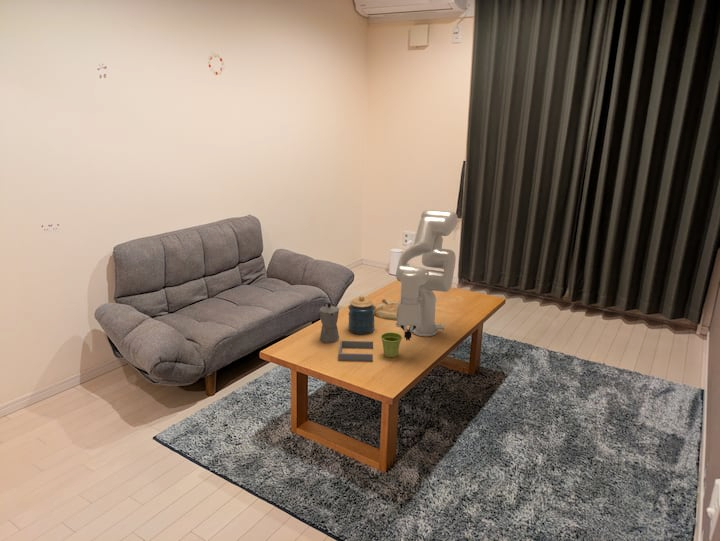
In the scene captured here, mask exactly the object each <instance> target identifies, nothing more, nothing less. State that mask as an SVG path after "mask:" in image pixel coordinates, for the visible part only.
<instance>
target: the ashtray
mask: <svg viewBox="0 0 720 541" xmlns="http://www.w3.org/2000/svg"><path fill="white" fill-rule="evenodd" d="M398 303H399V301H389V300H388V299H386V298H384V299H382V300H381V302H380V303H378V304H377V305H376V306H375V309H374V313H375V315H374V317H375V316H376V317H377V318H379V319H383V320H388V321H391V320H392V321H397V309H398Z"/></svg>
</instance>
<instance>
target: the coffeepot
mask: <svg viewBox="0 0 720 541" xmlns="http://www.w3.org/2000/svg"><path fill="white" fill-rule="evenodd" d="M318 310H319V317H320V322H321V324H322V325H321V330H320V336H319V340H320V341H321V342H323V343H327V344H329V343H330V344H332V343H336V342H338V341H339V339H340V335H339V334H340V333H339V329H338V326H337V323H338V319H339V313H340V312H339V311H340V308H339V307H337V306H335V305H334V306H333V305H332V303H330V302H329V303H327V302H325V303H324V304H323V306H321V307H320V309H318Z"/></svg>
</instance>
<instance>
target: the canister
mask: <svg viewBox="0 0 720 541" xmlns="http://www.w3.org/2000/svg"><path fill="white" fill-rule="evenodd" d="M347 307H348V310H349V311H348V313H347V314H348V326H347V327H348V330H349V332H351V333H352V334H357V335H369V334H371V333H372V332H374V330H375V325H376V324H375V313H374V309H375V307H376V306H375V305H374V302H373V301H372V300H371V299H370V298H367V297H365V296H364V295H360V296H359V297H356V298H353V299H352V300H350V302H349V305H348V306H347Z"/></svg>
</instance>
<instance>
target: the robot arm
mask: <svg viewBox="0 0 720 541" xmlns="http://www.w3.org/2000/svg"><path fill="white" fill-rule="evenodd" d="M420 216H421V217H420V220H419V224H418V225H417V226H418V227H417V231H416V234H415V239H414V242H413V244H412V245H411V246H410V247H409V248H407V249H406V250H405V251H404V252H403V253H402V254H401V256H400V258H399V260H398V263H397V267H396V269H395V270H396V272H395V278H396V280H397V281H398V282H400V300H399V301H398V302H399V303H398V309H397V320H396V323H395V327H396V328H399V329H402V330H403V332H404V339H405V341H411V339H412V334H414V335H415V336H419V337H433V336H435V335H437V334H438V330H440V331H441V330H445V325H442V324H441V323H440V324H439V323H436V307H437V306H436V304H437V297H436V295H435V293H434V292H439V293H440V292H442V293H448V292H450V290H451V289H452V284H453V279H454V273H455V268H456V266H455V265H456V258H457V257H456V253H455V251H453V250H452V249H448V248H447V249H446V248H443V241H444V238H443V237H447V236H450V235H451V234H452V232H453V231H454V230H455V229H456V227H457V225H458V221H459V218H458V215H457V213H456V212H455V211H450V210H437V209H427V210H426V209H425V210H423V211H422V213H421V215H420ZM419 256H421V264H422V265H423V266H424V267H420V266H419V267H418V266H413V265H412V266H411V265H407V264H408V263H409V261H411V260H412V259H413V258H416V257H419ZM425 267H427V268H425ZM428 268H432V269H428ZM433 268H434V269H442V270H443V271H442V270H434V269H433ZM407 326H408V327H409V328H407Z"/></svg>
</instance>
